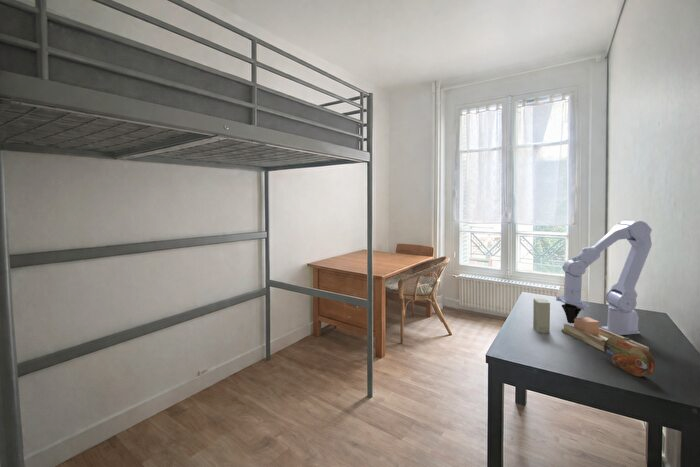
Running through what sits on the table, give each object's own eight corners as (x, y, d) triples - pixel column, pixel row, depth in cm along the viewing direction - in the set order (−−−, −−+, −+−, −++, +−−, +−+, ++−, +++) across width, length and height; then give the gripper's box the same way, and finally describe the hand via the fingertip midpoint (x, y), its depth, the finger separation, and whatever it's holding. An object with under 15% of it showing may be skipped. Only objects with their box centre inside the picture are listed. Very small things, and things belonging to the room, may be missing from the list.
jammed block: (587, 329, 132) (587, 317, 132) (598, 334, 127) (599, 321, 127) (573, 330, 131) (574, 318, 131) (584, 335, 126) (585, 322, 126)
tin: (602, 358, 111) (603, 333, 110) (611, 357, 111) (612, 333, 110) (646, 382, 96) (648, 354, 95) (656, 381, 96) (658, 353, 95)
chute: (587, 329, 135) (588, 321, 135) (650, 355, 112) (651, 346, 111) (561, 331, 133) (562, 323, 133) (619, 358, 110) (620, 349, 109)
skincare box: (549, 333, 132) (551, 303, 130) (537, 332, 132) (538, 302, 131) (543, 327, 138) (545, 298, 137) (532, 326, 139) (533, 298, 138)
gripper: (550, 286, 141) (548, 317, 143) (579, 295, 127) (577, 330, 128) (564, 285, 143) (563, 316, 144) (595, 294, 128) (593, 328, 130)
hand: (571, 322), depth 136 cm, fingers closed
